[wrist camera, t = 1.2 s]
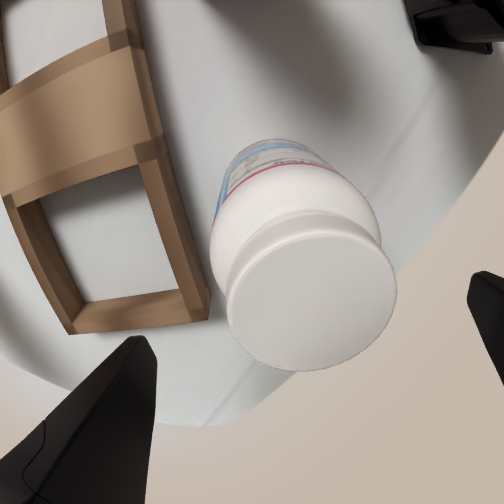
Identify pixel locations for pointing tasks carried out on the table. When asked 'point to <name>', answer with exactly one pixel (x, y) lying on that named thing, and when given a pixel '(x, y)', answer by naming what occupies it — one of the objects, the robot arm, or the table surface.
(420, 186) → the table surface
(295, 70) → the table surface
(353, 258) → the pill bottle
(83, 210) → the table surface
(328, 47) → the table surface
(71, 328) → the caddy
